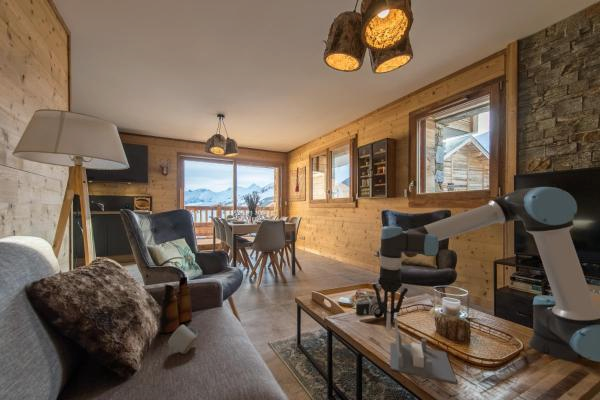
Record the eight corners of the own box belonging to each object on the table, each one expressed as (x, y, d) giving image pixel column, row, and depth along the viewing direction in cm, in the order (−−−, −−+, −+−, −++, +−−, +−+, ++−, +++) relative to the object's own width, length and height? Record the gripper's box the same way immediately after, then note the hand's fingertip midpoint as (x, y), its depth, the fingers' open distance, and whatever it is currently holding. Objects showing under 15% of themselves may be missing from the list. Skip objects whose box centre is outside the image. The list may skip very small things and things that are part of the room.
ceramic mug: (182, 359, 97) (186, 349, 93) (165, 346, 98) (169, 335, 94) (201, 336, 106) (206, 326, 102) (186, 324, 107) (189, 314, 103)
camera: (361, 321, 125) (361, 300, 125) (353, 313, 133) (353, 294, 133) (390, 317, 129) (390, 297, 129) (380, 310, 137) (381, 291, 137)
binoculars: (181, 313, 132) (181, 274, 132) (195, 315, 130) (195, 275, 130) (154, 331, 114) (154, 286, 114) (170, 333, 112) (171, 288, 112)
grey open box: (445, 353, 98) (445, 338, 98) (456, 383, 82) (456, 364, 82) (390, 343, 105) (390, 329, 105) (390, 369, 89) (390, 352, 89)
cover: (396, 310, 103) (394, 310, 103) (397, 327, 90) (394, 327, 90) (398, 334, 103) (396, 333, 103) (399, 353, 89) (397, 353, 90)
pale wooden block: (420, 353, 98) (420, 344, 98) (423, 367, 89) (423, 358, 89) (411, 351, 99) (411, 342, 99) (413, 365, 90) (413, 356, 90)
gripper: (408, 266, 99) (405, 327, 99) (373, 262, 103) (371, 321, 103) (409, 271, 91) (407, 337, 92) (372, 267, 96) (370, 330, 96)
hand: (388, 328), depth 97 cm, fingers closed
